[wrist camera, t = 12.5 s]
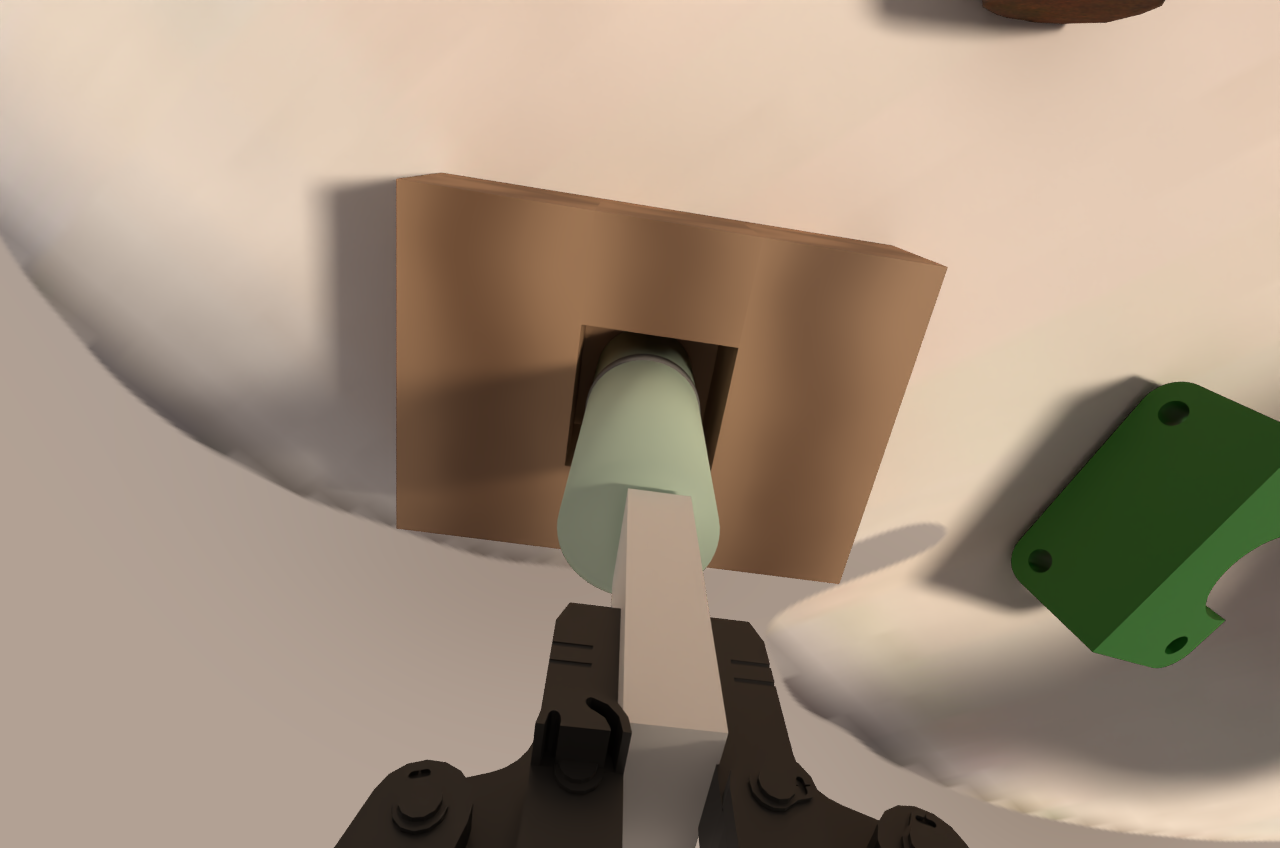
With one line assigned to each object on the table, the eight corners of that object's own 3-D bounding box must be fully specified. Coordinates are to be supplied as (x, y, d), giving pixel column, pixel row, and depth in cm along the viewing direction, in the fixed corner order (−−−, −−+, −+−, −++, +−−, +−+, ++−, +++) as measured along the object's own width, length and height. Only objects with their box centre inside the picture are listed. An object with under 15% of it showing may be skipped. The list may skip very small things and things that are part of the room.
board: (892, 245, 26) (947, 267, 21) (809, 518, 31) (839, 583, 26) (441, 172, 24) (396, 178, 20) (433, 469, 30) (396, 528, 25)
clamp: (1047, 518, 36) (1130, 683, 30) (978, 491, 34) (1053, 665, 28) (1297, 392, 28) (1474, 584, 22) (1230, 345, 26) (1409, 546, 20)
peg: (702, 335, 26) (739, 472, 15) (682, 426, 28) (701, 610, 16) (603, 317, 26) (566, 443, 15) (588, 410, 27) (545, 585, 16)
